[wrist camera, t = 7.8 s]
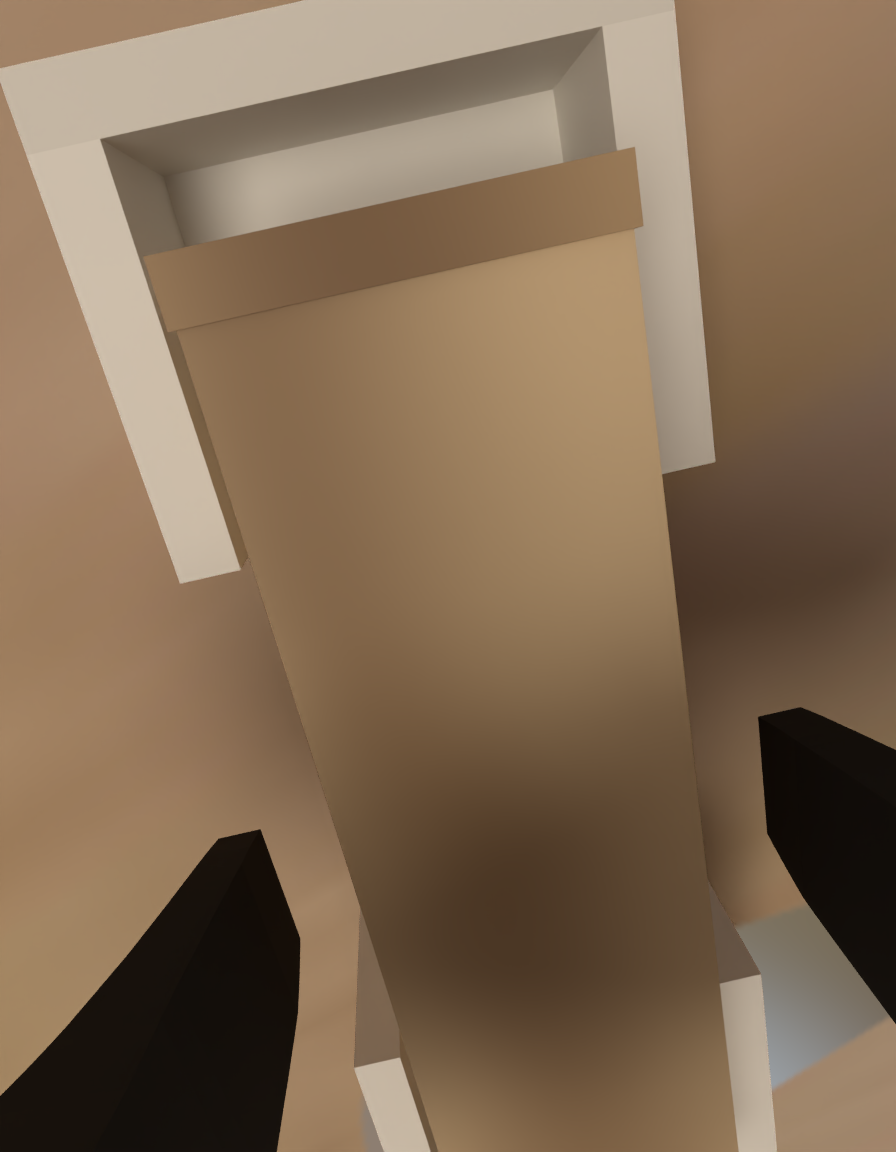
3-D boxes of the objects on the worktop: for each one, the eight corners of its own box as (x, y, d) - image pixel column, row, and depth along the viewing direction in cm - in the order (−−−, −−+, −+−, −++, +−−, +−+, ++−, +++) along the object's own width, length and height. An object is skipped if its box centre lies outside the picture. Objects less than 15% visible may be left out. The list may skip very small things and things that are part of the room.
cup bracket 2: (676, 823, 17) (761, 973, 13) (700, 1013, 19) (780, 1191, 15) (360, 896, 17) (354, 1067, 13) (419, 1078, 19) (428, 1274, 15)
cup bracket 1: (574, 44, 12) (666, -81, 8) (623, 419, 14) (715, 461, 10) (121, 147, 12) (-5, 69, 8) (237, 507, 14) (180, 583, 10)
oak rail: (524, 217, 11) (634, 147, 6) (651, 1016, 16) (761, 1307, 12) (247, 278, 11) (143, 256, 6) (467, 1059, 16) (501, 1367, 12)
